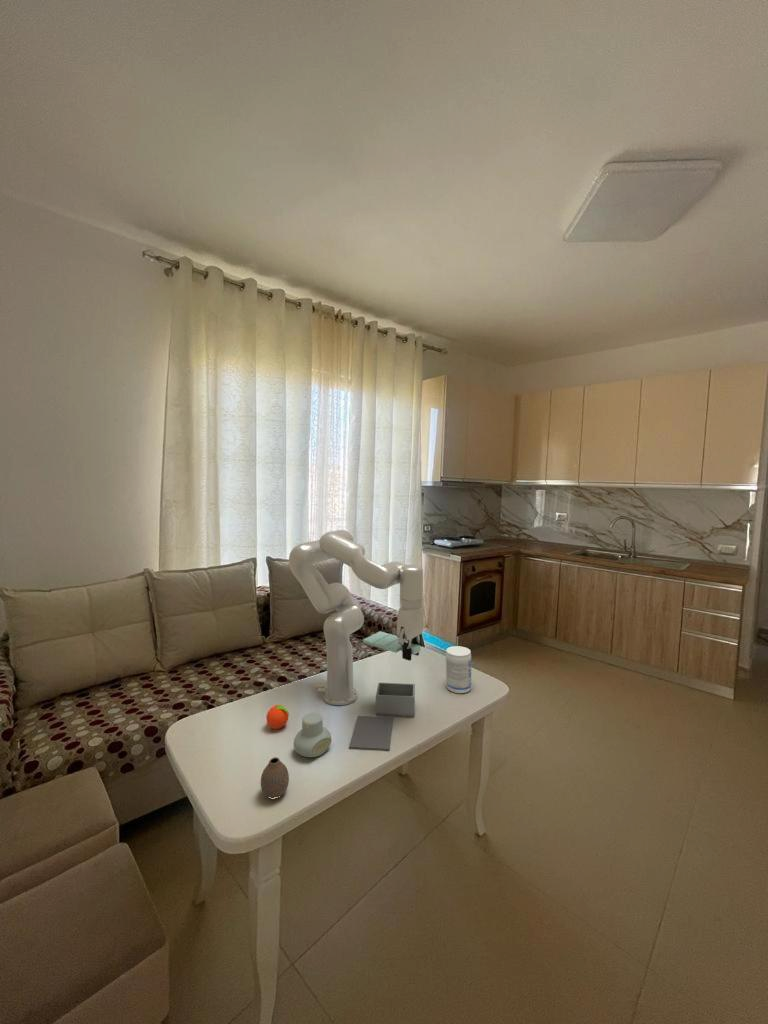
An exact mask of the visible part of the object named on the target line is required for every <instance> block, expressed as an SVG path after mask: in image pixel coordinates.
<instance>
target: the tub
mask: <svg viewBox="0 0 768 1024" xmlns="http://www.w3.org/2000/svg"><path fill="white" fill-rule="evenodd" d="M415 709H416V683H404V682H403V683H402V682H399V683H397V682H378V683H377V690H376V693H375V716H376V717H393V718H395V717H399V718H415V712H416V710H415Z"/></svg>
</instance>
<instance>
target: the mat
mask: <svg viewBox="0 0 768 1024" xmlns="http://www.w3.org/2000/svg"><path fill="white" fill-rule="evenodd" d="M393 725H394V716H376V715H374V716H373V715H357V717H356V721H355V724H354V727H353V731H352V735H351V738H350V742H349V745H348V749H350V750H363V751H364V750H367V751H385V752H390V748H391V742H392V741H391V740H392V733H393V732H392V731H393Z"/></svg>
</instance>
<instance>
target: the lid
mask: <svg viewBox="0 0 768 1024" xmlns="http://www.w3.org/2000/svg"><path fill="white" fill-rule="evenodd" d="M398 639H399V638H397V634H396V635H395V634H391V633H387V632H384V631H380V630H379V631H378V632H376V633H373V634H371V635H370V636H368V637H365V638H364V639H362V643H363V644H366V645H369V646H372V647H376V648H379V649H383V650H386V651H389V652H391V653H398V652H402V647H401V644H399V643H398ZM405 642H406V643H407V644H408V641H406V640H405ZM411 642H412V641H411ZM410 648H411V656H416V655H415V654H417V653H418V652H419V653H420V652H421V645H420V644H419V645H416V644H412V643H411V646H410Z"/></svg>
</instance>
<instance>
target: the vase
mask: <svg viewBox="0 0 768 1024" xmlns="http://www.w3.org/2000/svg"><path fill="white" fill-rule="evenodd" d="M289 782H290V773H289V770H288V768H287V766H286V764H284V763H283V762H282V761H281V760H280V758H279V757H275V756H274V757H272V758H270V759H269V761H268V764H267V765H266V766H265V768H264V769H263V771H262V772H261V776H260V788H261V791H262V794H263V796H264V797H266V796H267V797H271V798H274V797H279V796H281V795H282V794H283V795H284V794H285V793H286V791H287V789H288V787H289V784H290V783H289ZM283 795H282V796H283ZM282 796H281V797H282ZM267 797H266V798H267ZM279 798H280V797H279Z"/></svg>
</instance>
